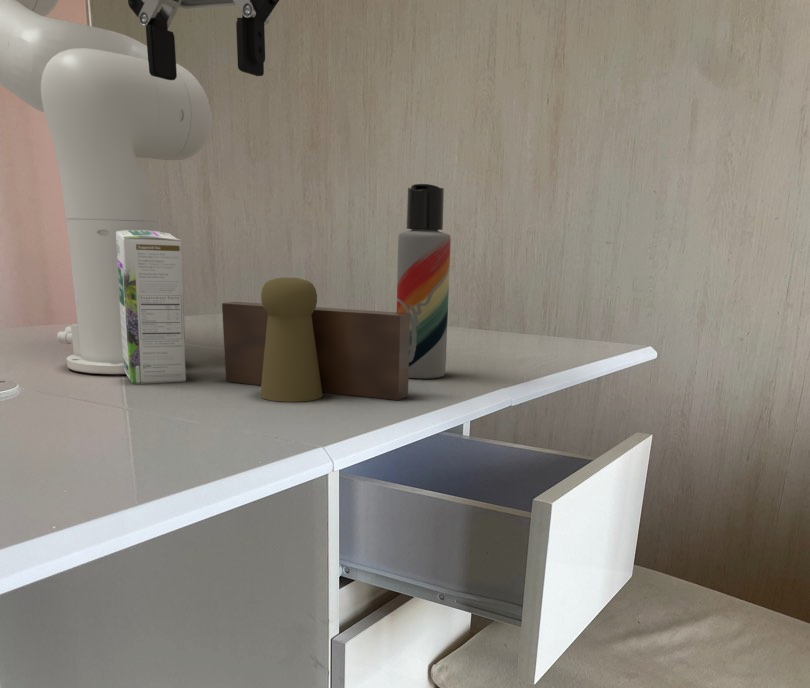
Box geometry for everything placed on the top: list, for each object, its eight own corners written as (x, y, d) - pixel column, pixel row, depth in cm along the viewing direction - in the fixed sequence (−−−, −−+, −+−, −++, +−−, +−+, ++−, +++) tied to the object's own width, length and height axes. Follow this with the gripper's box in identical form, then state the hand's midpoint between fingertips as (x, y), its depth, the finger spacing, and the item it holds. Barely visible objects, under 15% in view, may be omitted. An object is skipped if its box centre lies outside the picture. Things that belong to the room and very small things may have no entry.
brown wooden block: (225, 381, 88) (221, 303, 85) (238, 378, 90) (235, 301, 87) (398, 400, 81) (400, 315, 78) (408, 396, 83) (410, 313, 80)
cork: (312, 403, 78) (310, 280, 74) (251, 399, 79) (246, 278, 75) (329, 392, 84) (329, 277, 80) (272, 388, 85) (269, 275, 81)
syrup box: (122, 371, 90) (111, 229, 84) (178, 369, 92) (171, 230, 86) (131, 385, 85) (120, 235, 79) (189, 382, 88) (183, 237, 82)
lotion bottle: (387, 376, 93) (391, 182, 86) (405, 369, 98) (410, 186, 91) (435, 380, 91) (443, 183, 85) (451, 373, 96) (459, 186, 90)
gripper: (307, -151, 70) (309, 79, 76) (143, -125, 76) (157, 85, 82) (257, -191, 64) (264, 64, 70) (82, -159, 70) (103, 72, 76)
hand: (206, 75), depth 76 cm, fingers open, 9 cm apart
